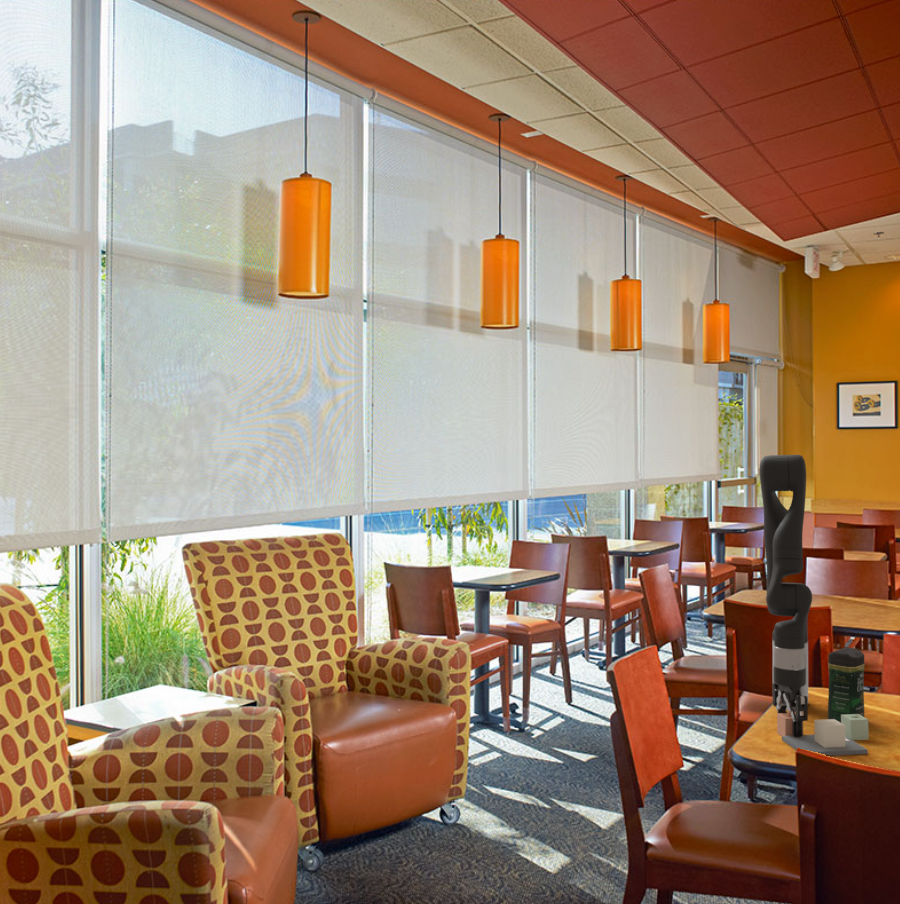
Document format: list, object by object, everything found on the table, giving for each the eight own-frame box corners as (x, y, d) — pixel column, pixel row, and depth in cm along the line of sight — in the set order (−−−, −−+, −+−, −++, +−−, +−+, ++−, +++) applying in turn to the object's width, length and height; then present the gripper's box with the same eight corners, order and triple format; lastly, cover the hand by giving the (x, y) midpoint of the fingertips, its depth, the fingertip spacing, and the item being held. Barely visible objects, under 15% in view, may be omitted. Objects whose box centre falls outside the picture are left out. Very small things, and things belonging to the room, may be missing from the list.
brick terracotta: (777, 733, 230) (777, 711, 230) (794, 732, 231) (794, 711, 231) (785, 739, 226) (785, 717, 226) (803, 738, 226) (803, 716, 226)
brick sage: (841, 734, 229) (841, 713, 229) (858, 734, 229) (858, 712, 229) (850, 740, 224) (850, 718, 224) (868, 739, 225) (868, 717, 225)
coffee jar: (855, 727, 234) (854, 654, 234) (823, 721, 239) (823, 649, 239) (869, 719, 241) (868, 648, 241) (838, 713, 246) (838, 643, 246)
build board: (781, 740, 225) (781, 715, 225) (841, 737, 226) (840, 713, 226) (805, 756, 213) (805, 730, 213) (867, 753, 214) (867, 728, 214)
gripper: (762, 658, 235) (762, 723, 235) (788, 672, 221) (788, 741, 221) (790, 657, 236) (791, 722, 236) (818, 671, 221) (818, 740, 221)
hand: (789, 731), depth 228 cm, fingers open, 7 cm apart
